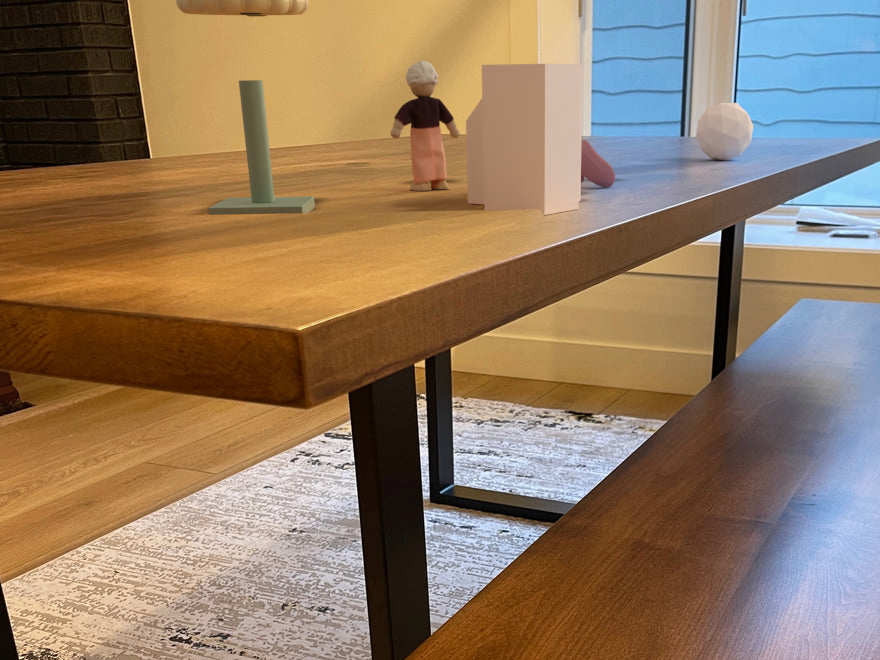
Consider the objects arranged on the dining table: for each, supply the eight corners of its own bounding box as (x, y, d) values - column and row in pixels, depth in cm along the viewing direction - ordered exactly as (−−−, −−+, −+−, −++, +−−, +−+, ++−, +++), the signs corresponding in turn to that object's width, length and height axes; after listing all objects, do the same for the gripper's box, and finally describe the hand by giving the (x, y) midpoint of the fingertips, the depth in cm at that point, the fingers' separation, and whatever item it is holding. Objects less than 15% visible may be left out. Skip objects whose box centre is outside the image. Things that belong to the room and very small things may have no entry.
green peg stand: (209, 219, 86) (191, 80, 82) (229, 208, 93) (213, 80, 89) (303, 218, 86) (290, 79, 82) (315, 207, 94) (304, 79, 89)
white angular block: (544, 215, 87) (545, 63, 82) (445, 206, 93) (440, 65, 88) (609, 203, 94) (613, 64, 90) (514, 196, 101) (513, 65, 96)
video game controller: (543, 195, 115) (519, 138, 111) (574, 175, 116) (551, 118, 112) (588, 204, 107) (563, 143, 103) (621, 182, 108) (598, 120, 104)
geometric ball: (733, 181, 141) (755, 134, 135) (681, 159, 142) (700, 112, 135) (746, 150, 145) (768, 103, 139) (696, 129, 146) (714, 81, 139)
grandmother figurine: (444, 185, 111) (439, 61, 106) (465, 188, 109) (461, 60, 104) (386, 190, 107) (378, 61, 102) (407, 193, 104) (400, 60, 99)
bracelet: (162, 12, 79) (159, -14, 78) (196, 15, 88) (193, -8, 87) (297, 12, 79) (295, -14, 78) (317, 15, 88) (315, -8, 88)
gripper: (201, -203, 87) (227, 20, 94) (158, -250, 74) (191, 11, 81) (288, -203, 87) (307, 19, 94) (260, -250, 74) (284, 10, 81)
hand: (253, 14), depth 87 cm, fingers closed on bracelet, 2 cm apart
